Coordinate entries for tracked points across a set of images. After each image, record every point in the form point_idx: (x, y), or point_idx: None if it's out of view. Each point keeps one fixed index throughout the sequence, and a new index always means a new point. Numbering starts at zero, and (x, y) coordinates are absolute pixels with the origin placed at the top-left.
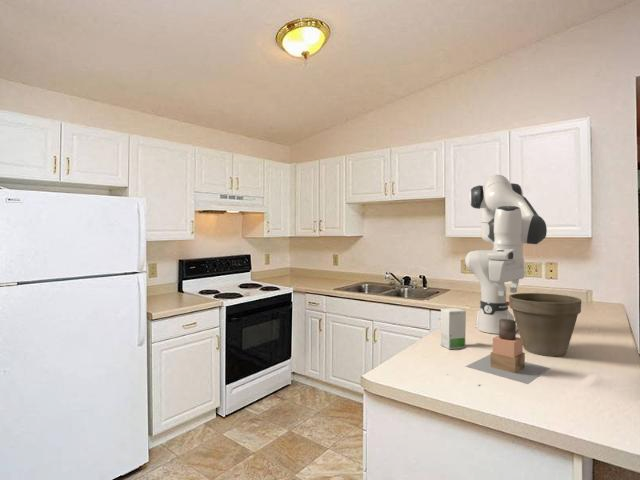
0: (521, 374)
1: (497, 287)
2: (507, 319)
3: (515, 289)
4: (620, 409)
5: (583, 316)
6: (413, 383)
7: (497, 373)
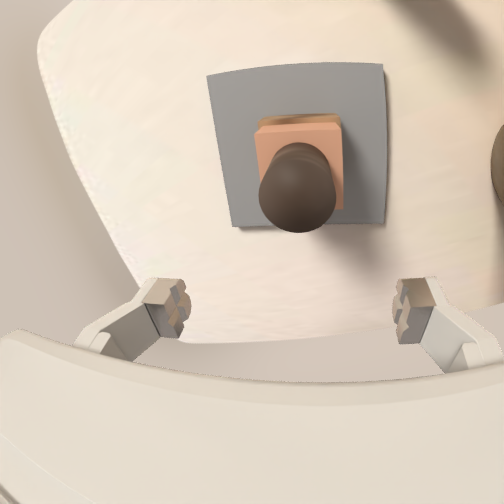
0: None
1: (104, 320)
2: (325, 186)
3: (399, 332)
4: (279, 330)
5: None
6: (72, 85)
7: (233, 154)
